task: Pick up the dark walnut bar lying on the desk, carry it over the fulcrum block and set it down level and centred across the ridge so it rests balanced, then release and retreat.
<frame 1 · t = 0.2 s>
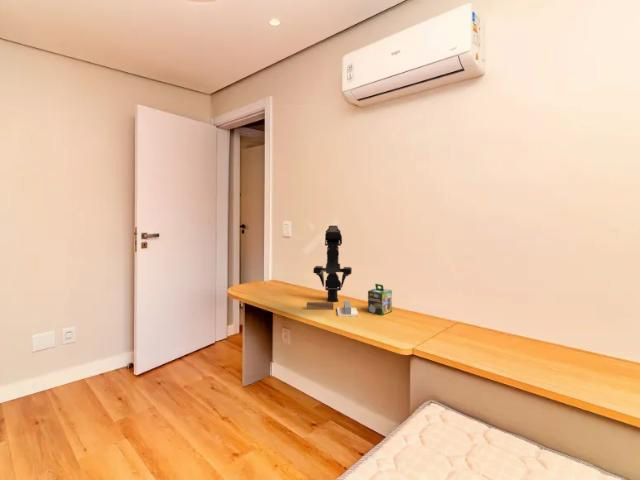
hand: (332, 287, 177), 14 cm above the table, fingers open, 9 cm apart
bar: (320, 309, 188), on the table
fulcrum: (347, 312, 181), on the table
chalk box: (379, 312, 183), on the table
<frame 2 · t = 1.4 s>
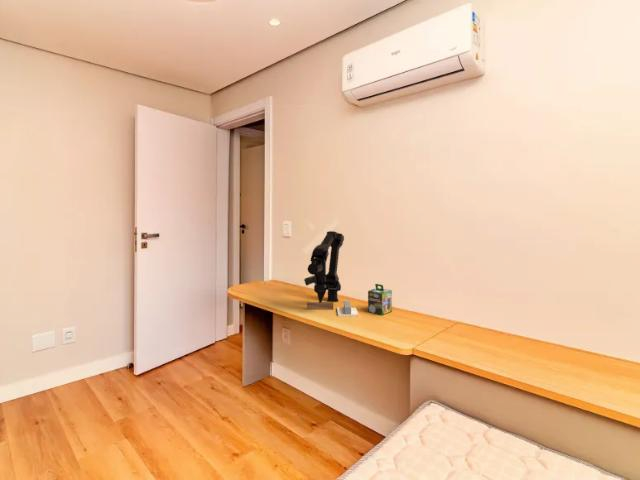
hand: (320, 300, 188), 5 cm above the table, fingers open, 9 cm apart
nothing on the table moved.
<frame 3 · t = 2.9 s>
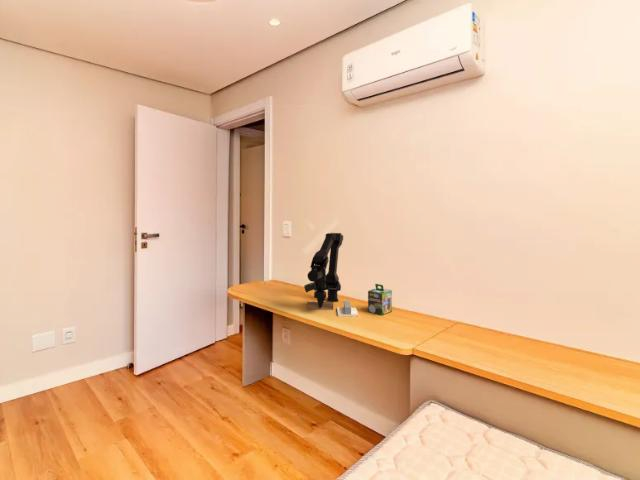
hand: (320, 306, 188), 1 cm above the table, fingers closed on bar, 3 cm apart
bar: (320, 309, 188), on the table, touching gripper
everything else where it was.
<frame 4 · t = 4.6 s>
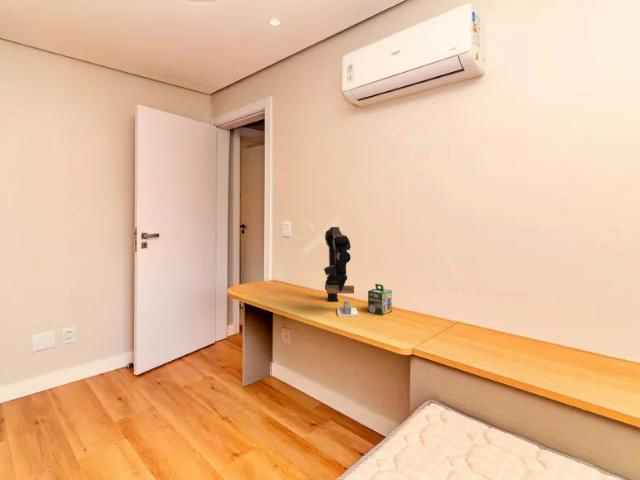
hand: (340, 290, 182), 11 cm above the table, fingers closed on bar, 3 cm apart
bar: (340, 292, 182), point 10 cm above the table, touching gripper
everything else where it was.
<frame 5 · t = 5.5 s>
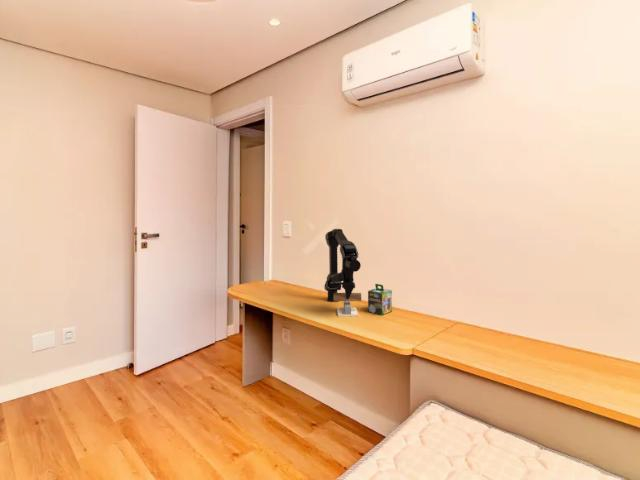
hand: (347, 298, 181), 8 cm above the table, fingers closed on bar, 3 cm apart
bar: (347, 300, 181), point 6 cm above the table, touching gripper
everything else where it was.
when the fingers open (7 cm above the table, at t = 6.2 s): bar drops 1 cm, resting on fulcrum.
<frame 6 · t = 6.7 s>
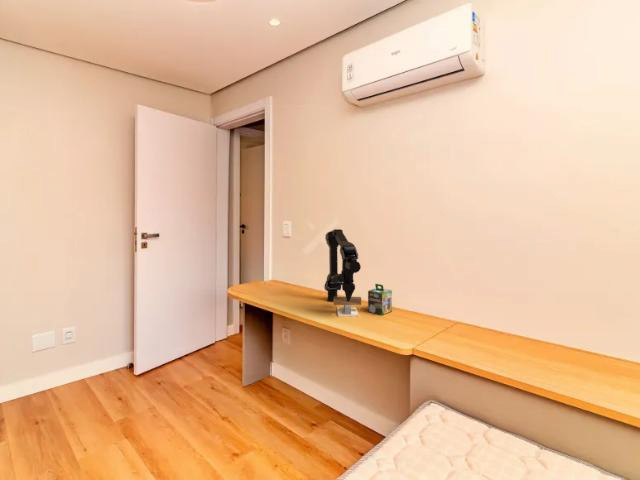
hand: (347, 299, 181), 7 cm above the table, fingers open, 8 cm apart
bar: (347, 304, 181), point 4 cm above the table, touching fulcrum
everything else where it was.
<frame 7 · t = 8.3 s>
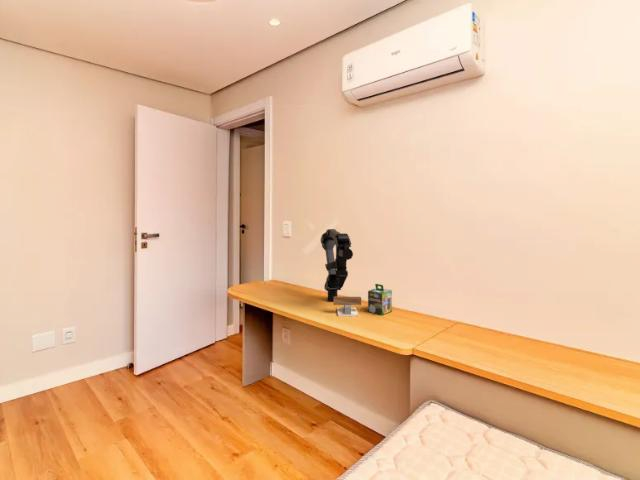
hand: (340, 285, 190), 12 cm above the table, fingers open, 9 cm apart
nothing on the table moved.
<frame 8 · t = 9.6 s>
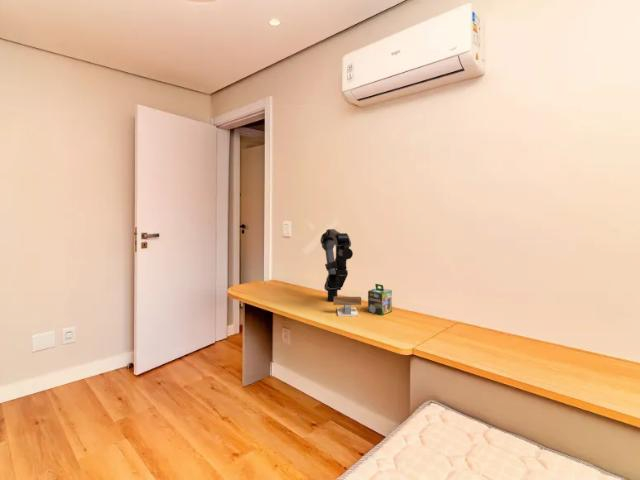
hand: (340, 285, 190), 12 cm above the table, fingers open, 9 cm apart
nothing on the table moved.
at the end: bar inside the target area on the fulcrum (0.1 cm from its centre), point 4.5 cm above the fulcrum's base; bar tilted 0°; bar touching fulcrum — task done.
